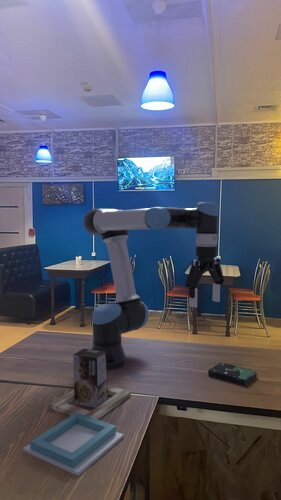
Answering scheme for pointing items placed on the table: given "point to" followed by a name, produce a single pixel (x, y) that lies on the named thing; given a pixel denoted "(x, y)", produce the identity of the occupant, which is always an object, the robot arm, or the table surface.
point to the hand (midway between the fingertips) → (205, 304)
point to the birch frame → (98, 412)
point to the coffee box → (90, 377)
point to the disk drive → (232, 374)
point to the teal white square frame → (74, 443)
